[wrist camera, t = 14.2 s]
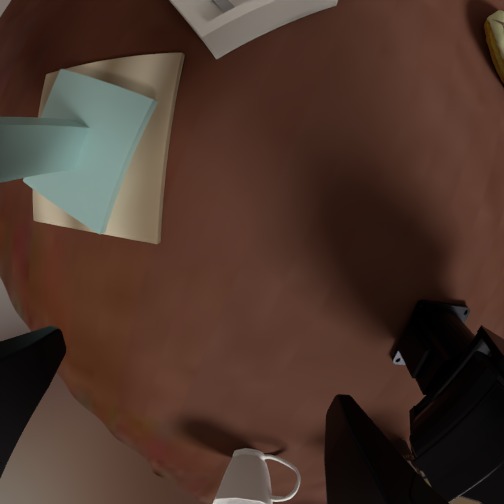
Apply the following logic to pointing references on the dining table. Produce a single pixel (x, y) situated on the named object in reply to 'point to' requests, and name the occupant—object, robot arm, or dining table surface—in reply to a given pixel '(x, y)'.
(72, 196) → the lid
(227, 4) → the tub
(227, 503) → the cup
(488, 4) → the dining table surface
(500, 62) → the decorated donut
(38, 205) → the board
